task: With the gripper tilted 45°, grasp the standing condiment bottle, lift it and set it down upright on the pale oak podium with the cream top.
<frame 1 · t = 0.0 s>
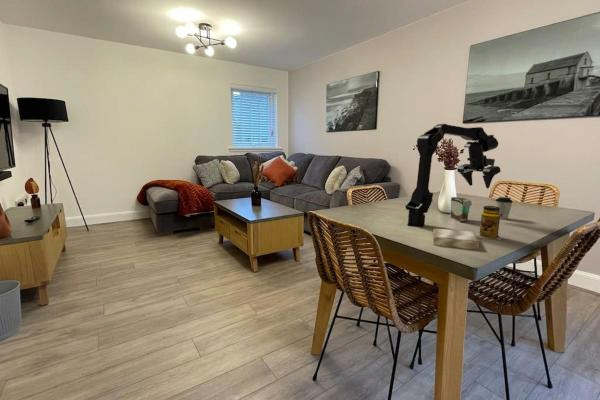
hand: (479, 186, 139), 15 cm above the table, tool pointing down, fingers open, 9 cm apart
food container: (461, 220, 140), on the table
coffee cup: (501, 218, 142), on the table
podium: (453, 242, 109), on the table
condiment: (488, 236, 116), on the table
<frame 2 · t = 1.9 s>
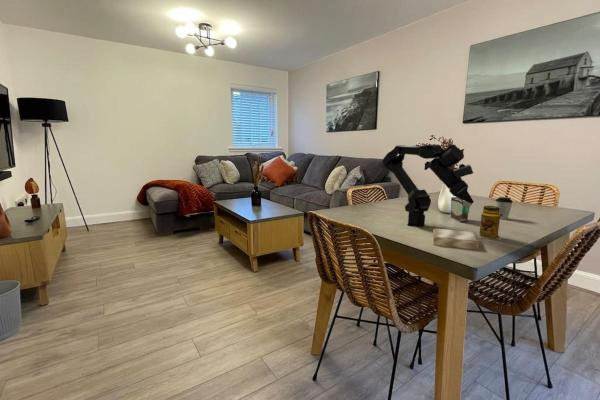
hand: (470, 200, 117), 14 cm above the table, tool tilted 45°, fingers open, 9 cm apart
nothing on the table moved.
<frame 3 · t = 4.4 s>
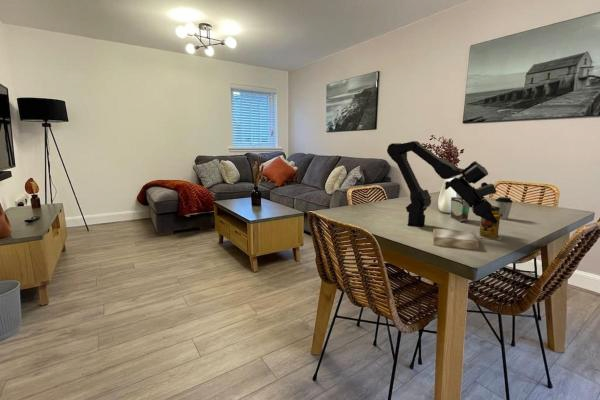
hand: (494, 219, 114), 7 cm above the table, tool tilted 45°, fingers open, 8 cm apart
condiment: (488, 236, 116), on the table, touching gripper
everything else where it was.
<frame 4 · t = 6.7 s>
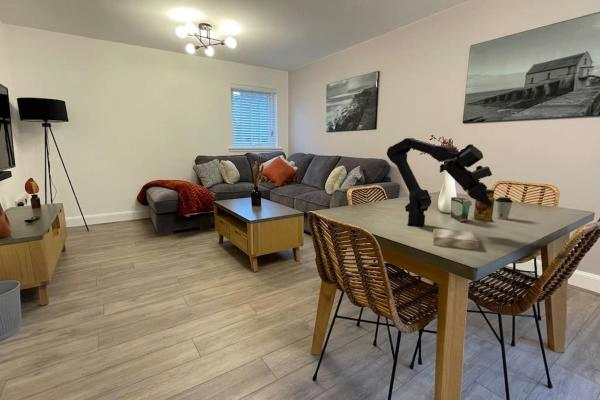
hand: (489, 203, 112), 13 cm above the table, tool tilted 45°, fingers closed on condiment, 6 cm apart
condiment: (482, 220, 114), point 6 cm above the table, touching gripper
everything else where it was.
when the fingers open (11 cm above the table, at t = 8.8 s): condiment drops 1 cm, resting on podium.
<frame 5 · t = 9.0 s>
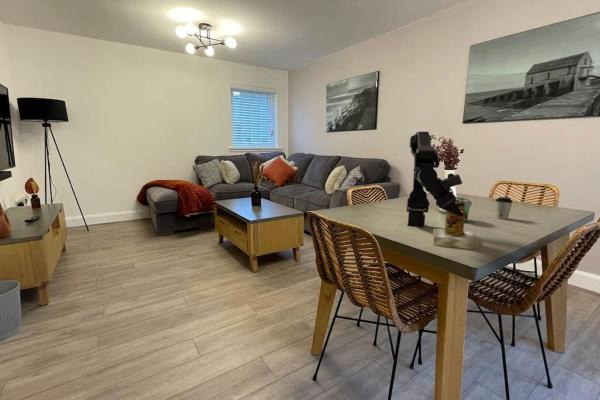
hand: (460, 213, 106), 11 cm above the table, tool tilted 45°, fingers open, 8 cm apart
condiment: (453, 233, 110), point 3 cm above the table, touching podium
everything else where it was.
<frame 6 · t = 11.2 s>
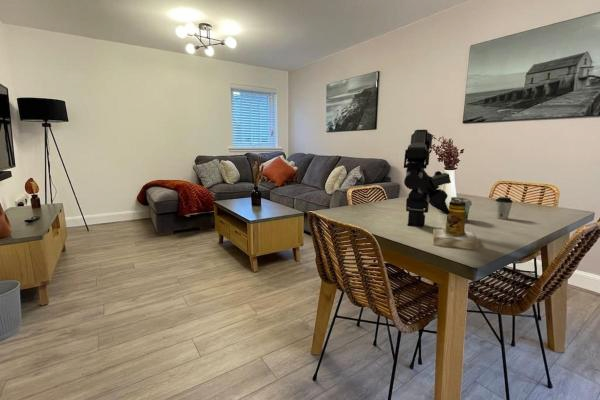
hand: (444, 210, 111), 11 cm above the table, tool tilted 40°, fingers open, 9 cm apart
condiment: (454, 233, 110), point 3 cm above the table, touching gripper
everything else where it was.
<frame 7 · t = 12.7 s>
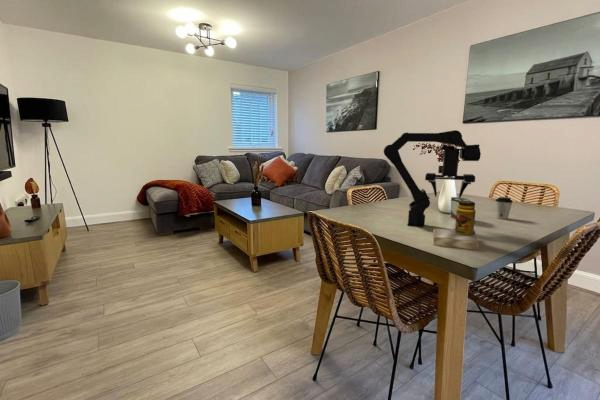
hand: (447, 197, 127), 13 cm above the table, tool pointing down, fingers open, 9 cm apart
condiment: (464, 233, 110), point 3 cm above the table, touching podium
everything else where it was.
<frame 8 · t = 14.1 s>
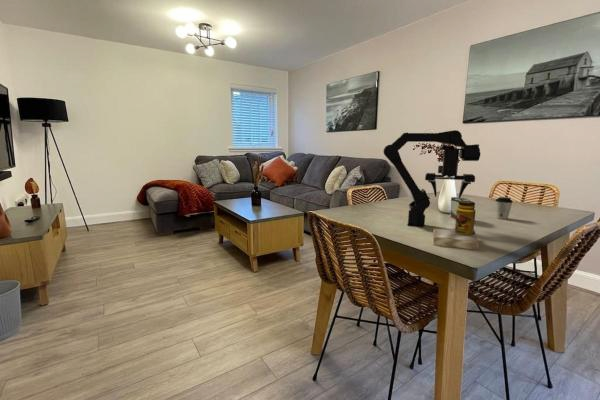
hand: (447, 197, 127), 13 cm above the table, tool pointing down, fingers open, 9 cm apart
nothing on the table moved.
at the end: condiment inside the target area on the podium (4.7 cm from its centre), point 2.8 cm above the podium's base; condiment tilted 0°; the gripper is holding nothing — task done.
